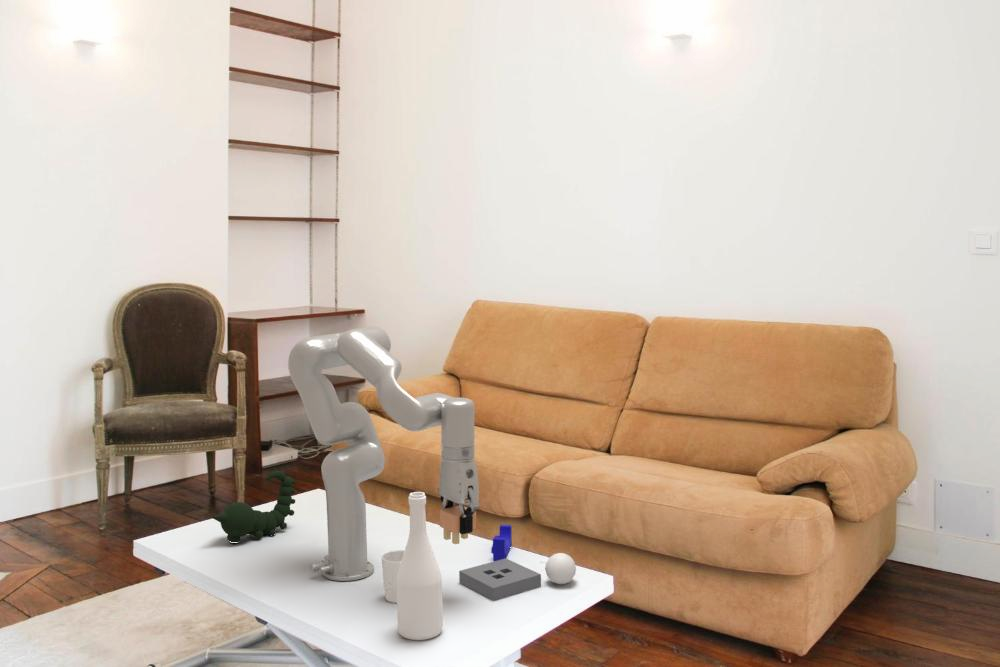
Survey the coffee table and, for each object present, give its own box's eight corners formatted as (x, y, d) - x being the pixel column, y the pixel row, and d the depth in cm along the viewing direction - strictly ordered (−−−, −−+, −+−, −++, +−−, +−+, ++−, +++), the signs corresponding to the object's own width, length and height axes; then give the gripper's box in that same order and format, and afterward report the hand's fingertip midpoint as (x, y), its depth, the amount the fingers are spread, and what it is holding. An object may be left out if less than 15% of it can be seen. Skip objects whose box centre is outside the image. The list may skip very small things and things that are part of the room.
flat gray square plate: (493, 600, 210) (493, 588, 210) (459, 582, 221) (459, 570, 221) (541, 586, 218) (540, 574, 218) (505, 569, 230) (505, 558, 229)
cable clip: (495, 546, 248) (495, 524, 248) (511, 546, 247) (511, 525, 247) (487, 561, 236) (487, 539, 236) (504, 562, 236) (504, 539, 235)
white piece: (582, 583, 220) (582, 554, 219) (559, 591, 215) (559, 561, 214) (554, 572, 228) (554, 543, 227) (531, 579, 223) (531, 550, 222)
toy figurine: (281, 530, 269) (202, 543, 251) (283, 466, 268) (205, 475, 250) (299, 537, 263) (220, 551, 244) (302, 471, 262) (223, 481, 244)
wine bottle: (445, 622, 199) (442, 487, 195) (440, 642, 189) (437, 500, 186) (401, 622, 199) (398, 487, 196) (394, 641, 190) (390, 500, 186)
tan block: (454, 545, 207) (454, 516, 206) (439, 538, 212) (439, 509, 211) (476, 540, 210) (476, 511, 210) (461, 533, 215) (461, 505, 214)
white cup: (402, 607, 207) (401, 564, 206) (375, 600, 212) (374, 558, 211) (423, 595, 214) (422, 553, 213) (397, 588, 218) (396, 548, 217)
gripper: (493, 457, 204) (493, 536, 206) (450, 442, 218) (450, 516, 220) (465, 462, 199) (465, 542, 202) (423, 447, 213) (424, 522, 215)
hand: (457, 528), depth 211 cm, fingers closed on tan block, 6 cm apart
